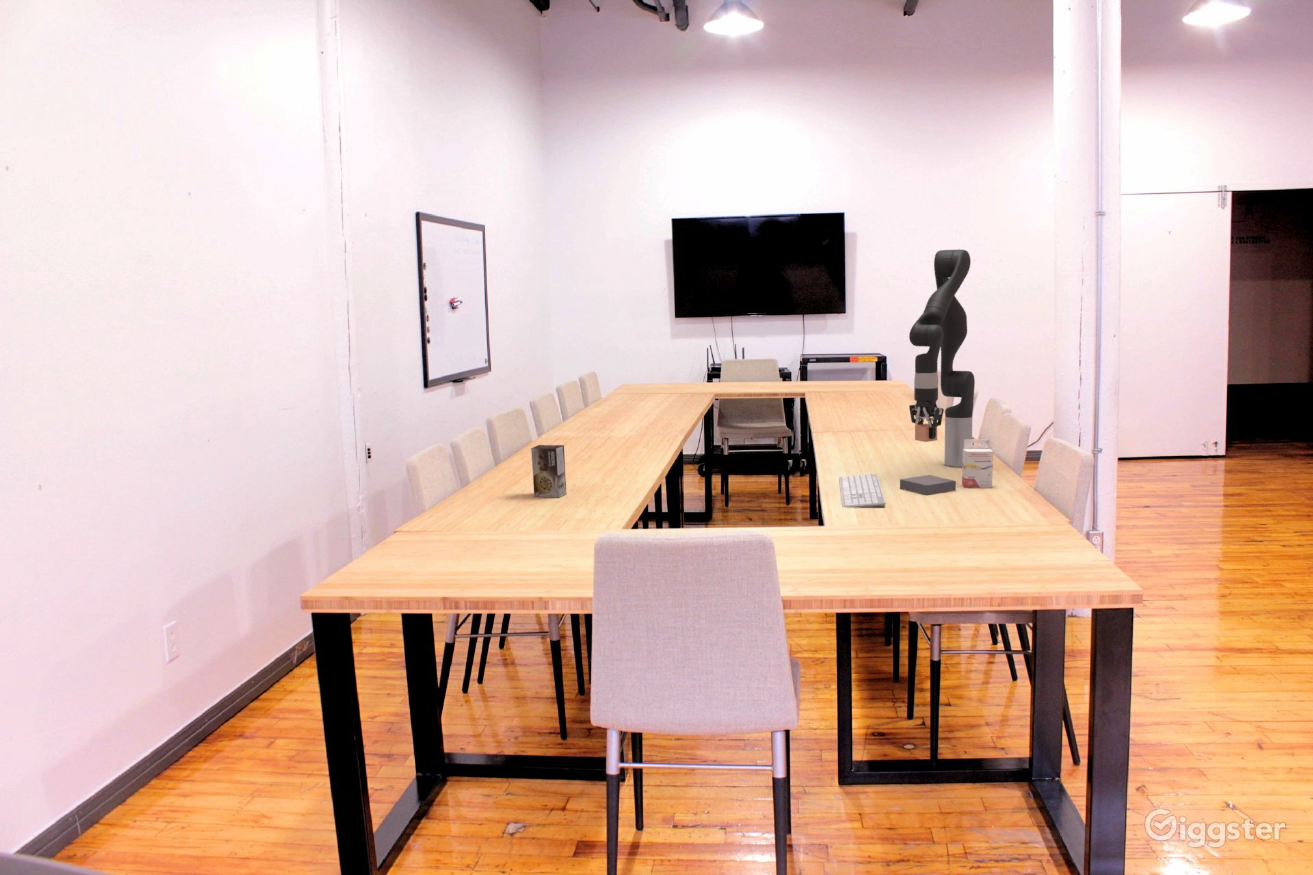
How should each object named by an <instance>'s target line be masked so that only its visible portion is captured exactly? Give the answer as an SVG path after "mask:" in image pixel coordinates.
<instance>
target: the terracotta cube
mask: <svg viewBox="0 0 1313 875" xmlns="http://www.w3.org/2000/svg"><path fill="white" fill-rule="evenodd" d="M929 428H930V427H929V424H928V422H927V423H923V424H919V425H915V424H914V441H919V442H922V443H928V442H933V441H934V442H935V441H938V426H937V427H936V437H935V439H929Z"/></svg>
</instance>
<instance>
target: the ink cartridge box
mask: <svg viewBox="0 0 1313 875" xmlns="http://www.w3.org/2000/svg"><path fill="white" fill-rule="evenodd" d="M972 443H974V445H972ZM976 443H978V444H976ZM990 443H991V441H990V439H987V438H985V439H983V438H981V439H977V438H974V439H972V440H966V439H965V440H964V449H963V464H962V467H961V468H962V471H961V472H962V474H961V485H962V486H963V487H964V488H993V471H994V470H993V469H994V468H993V467H994V463H993V461H994V451H993V450H992V449H990Z"/></svg>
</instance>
